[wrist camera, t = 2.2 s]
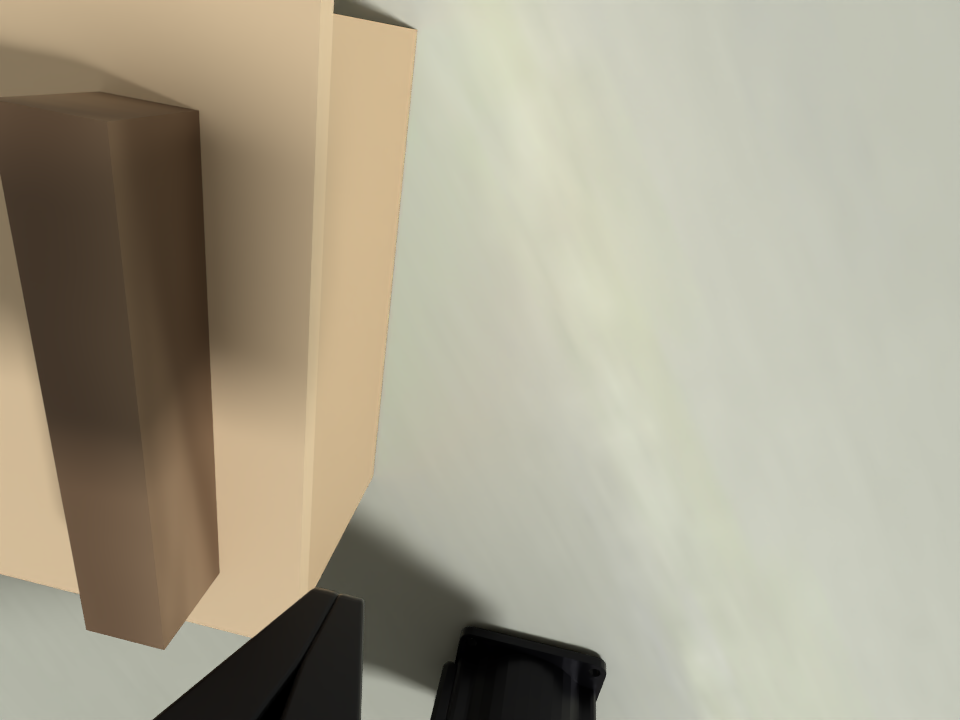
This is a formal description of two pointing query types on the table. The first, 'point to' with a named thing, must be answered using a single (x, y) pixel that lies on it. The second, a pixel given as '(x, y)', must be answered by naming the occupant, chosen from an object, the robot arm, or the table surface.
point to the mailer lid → (161, 304)
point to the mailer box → (356, 264)
